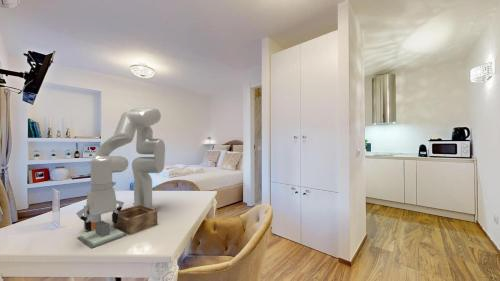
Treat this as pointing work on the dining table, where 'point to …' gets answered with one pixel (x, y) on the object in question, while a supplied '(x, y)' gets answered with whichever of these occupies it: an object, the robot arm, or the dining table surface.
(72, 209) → the dining table surface
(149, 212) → the walnut box
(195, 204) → the dining table surface
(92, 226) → the skincare box
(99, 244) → the rubber mat
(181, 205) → the dining table surface
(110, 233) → the cover plate
